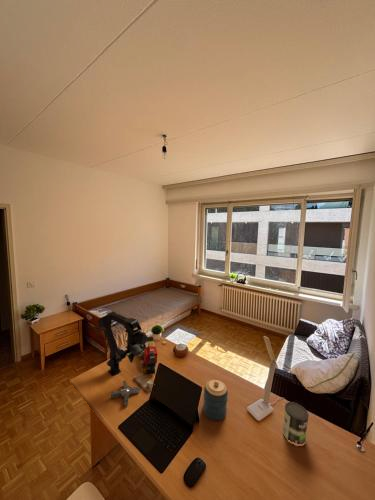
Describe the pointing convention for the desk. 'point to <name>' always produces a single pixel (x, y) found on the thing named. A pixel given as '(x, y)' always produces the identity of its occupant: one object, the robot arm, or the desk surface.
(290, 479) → the desk surface
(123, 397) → the capstan
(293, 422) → the coffee can
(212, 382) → the canister
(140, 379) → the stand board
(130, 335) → the robot arm
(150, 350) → the toy soldier
